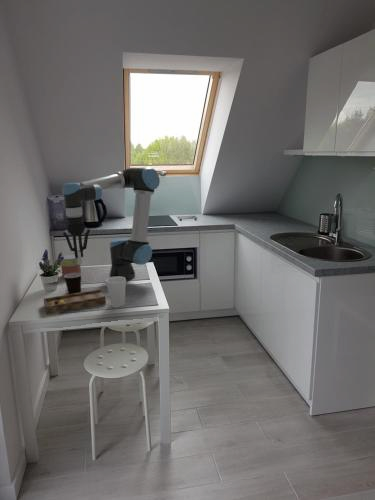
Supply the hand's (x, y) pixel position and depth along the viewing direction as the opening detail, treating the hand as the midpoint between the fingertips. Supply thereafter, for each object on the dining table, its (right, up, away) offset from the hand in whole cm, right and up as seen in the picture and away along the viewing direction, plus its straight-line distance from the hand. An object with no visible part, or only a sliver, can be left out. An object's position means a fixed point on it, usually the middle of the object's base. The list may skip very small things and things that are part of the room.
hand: (79, 263), depth 189 cm
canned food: (-18, -9, +48) cm, 53 cm away
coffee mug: (-8, -16, +20) cm, 27 cm away
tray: (-3, -20, +3) cm, 21 cm away
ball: (-9, -19, 0) cm, 21 cm away
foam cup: (+18, -20, +1) cm, 27 cm away
